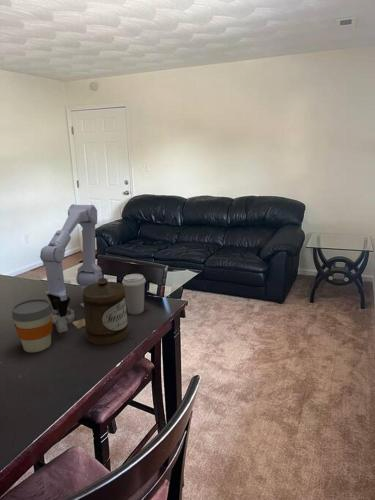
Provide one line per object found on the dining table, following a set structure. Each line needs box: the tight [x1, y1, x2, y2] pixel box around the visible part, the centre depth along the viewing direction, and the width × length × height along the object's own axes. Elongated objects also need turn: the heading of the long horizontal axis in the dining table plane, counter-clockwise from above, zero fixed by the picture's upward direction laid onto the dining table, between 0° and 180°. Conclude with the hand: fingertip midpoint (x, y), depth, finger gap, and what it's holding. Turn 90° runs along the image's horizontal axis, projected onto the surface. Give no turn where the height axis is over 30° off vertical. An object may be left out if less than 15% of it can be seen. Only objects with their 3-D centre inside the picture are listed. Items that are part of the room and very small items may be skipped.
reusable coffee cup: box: [11, 298, 53, 353], centre depth 126 cm, size 13×13×15 cm
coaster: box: [71, 317, 86, 330], centre depth 143 cm, size 6×6×1 cm
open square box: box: [51, 306, 71, 316], centre depth 145 cm, size 6×8×2 cm
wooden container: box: [82, 277, 129, 346], centre depth 132 cm, size 15×15×22 cm
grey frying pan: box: [51, 308, 76, 327], centre depth 145 cm, size 18×10×2 cm, turn 127°
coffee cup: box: [121, 273, 147, 315], centre depth 151 cm, size 10×10×15 cm
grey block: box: [53, 312, 68, 334], centre depth 138 cm, size 5×3×7 cm, turn 127°
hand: (59, 312), depth 136 cm, fingers open, 7 cm apart
